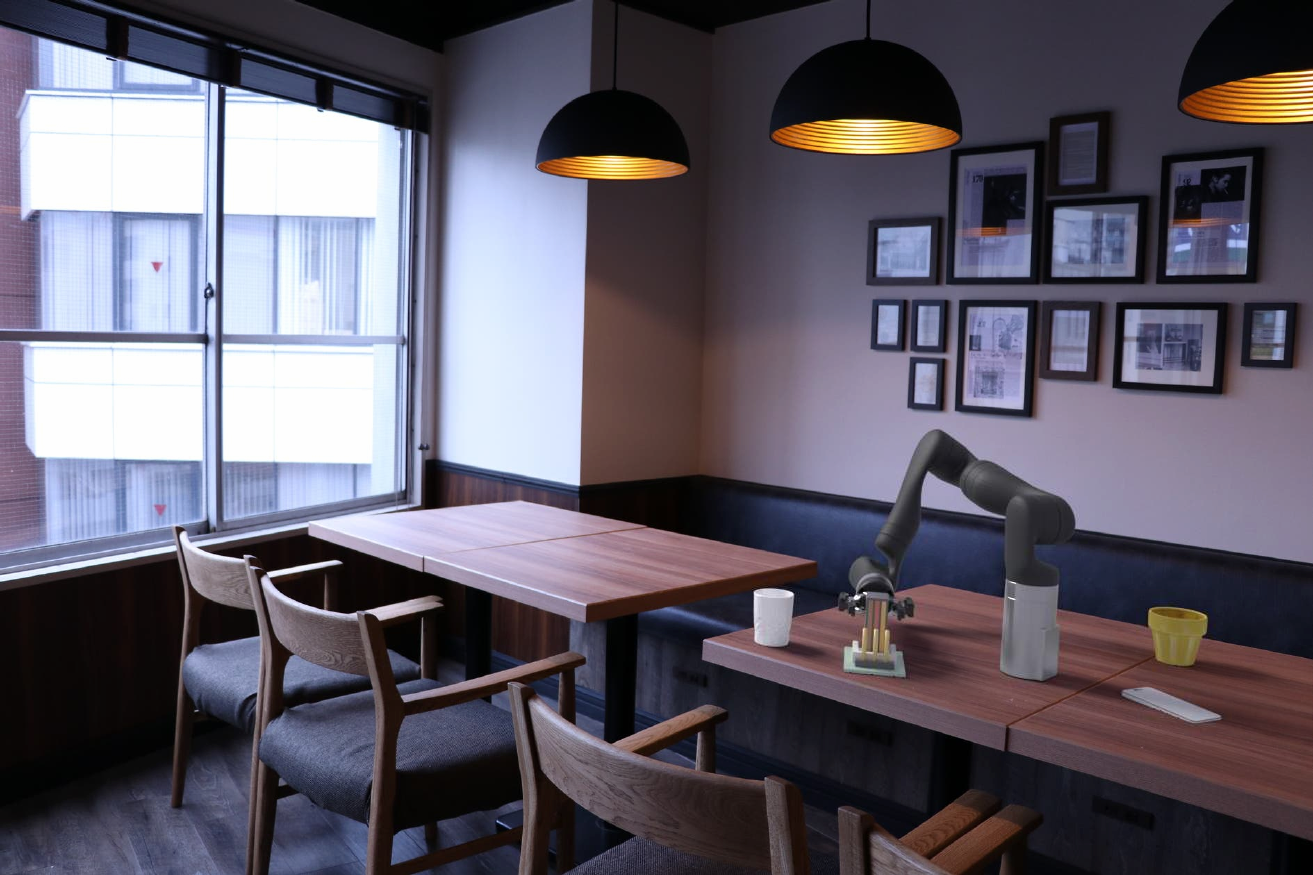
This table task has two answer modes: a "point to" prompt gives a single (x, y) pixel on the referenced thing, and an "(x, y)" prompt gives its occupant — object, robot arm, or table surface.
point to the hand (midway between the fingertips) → (876, 613)
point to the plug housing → (876, 619)
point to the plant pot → (1176, 634)
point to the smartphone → (1170, 705)
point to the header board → (874, 658)
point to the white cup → (772, 616)
